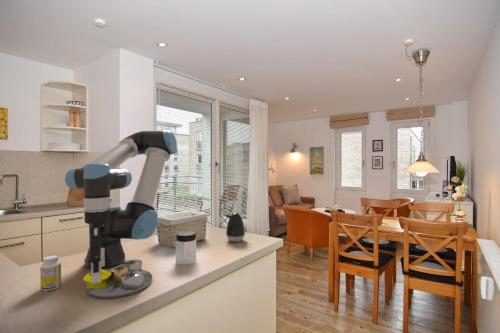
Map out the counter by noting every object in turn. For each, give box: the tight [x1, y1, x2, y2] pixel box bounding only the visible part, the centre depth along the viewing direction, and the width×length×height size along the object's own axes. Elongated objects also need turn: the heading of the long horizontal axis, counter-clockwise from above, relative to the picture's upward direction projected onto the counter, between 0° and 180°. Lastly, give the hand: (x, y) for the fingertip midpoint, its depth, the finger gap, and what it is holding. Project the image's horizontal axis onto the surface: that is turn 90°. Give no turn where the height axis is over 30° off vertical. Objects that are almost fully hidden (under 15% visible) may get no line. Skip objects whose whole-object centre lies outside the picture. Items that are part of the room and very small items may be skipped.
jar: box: [175, 231, 197, 266], centre depth 115 cm, size 9×8×12 cm
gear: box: [83, 268, 112, 288], centre depth 90 cm, size 8×4×8 cm
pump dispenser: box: [225, 212, 246, 243], centre depth 146 cm, size 10×10×15 cm
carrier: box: [86, 259, 153, 300], centre depth 93 cm, size 20×20×6 cm
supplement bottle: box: [39, 255, 62, 292], centre depth 90 cm, size 6×6×10 cm
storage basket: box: [156, 209, 208, 249], centre depth 146 cm, size 24×16×15 cm
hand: (98, 273), depth 90 cm, fingers open, 13 cm apart
